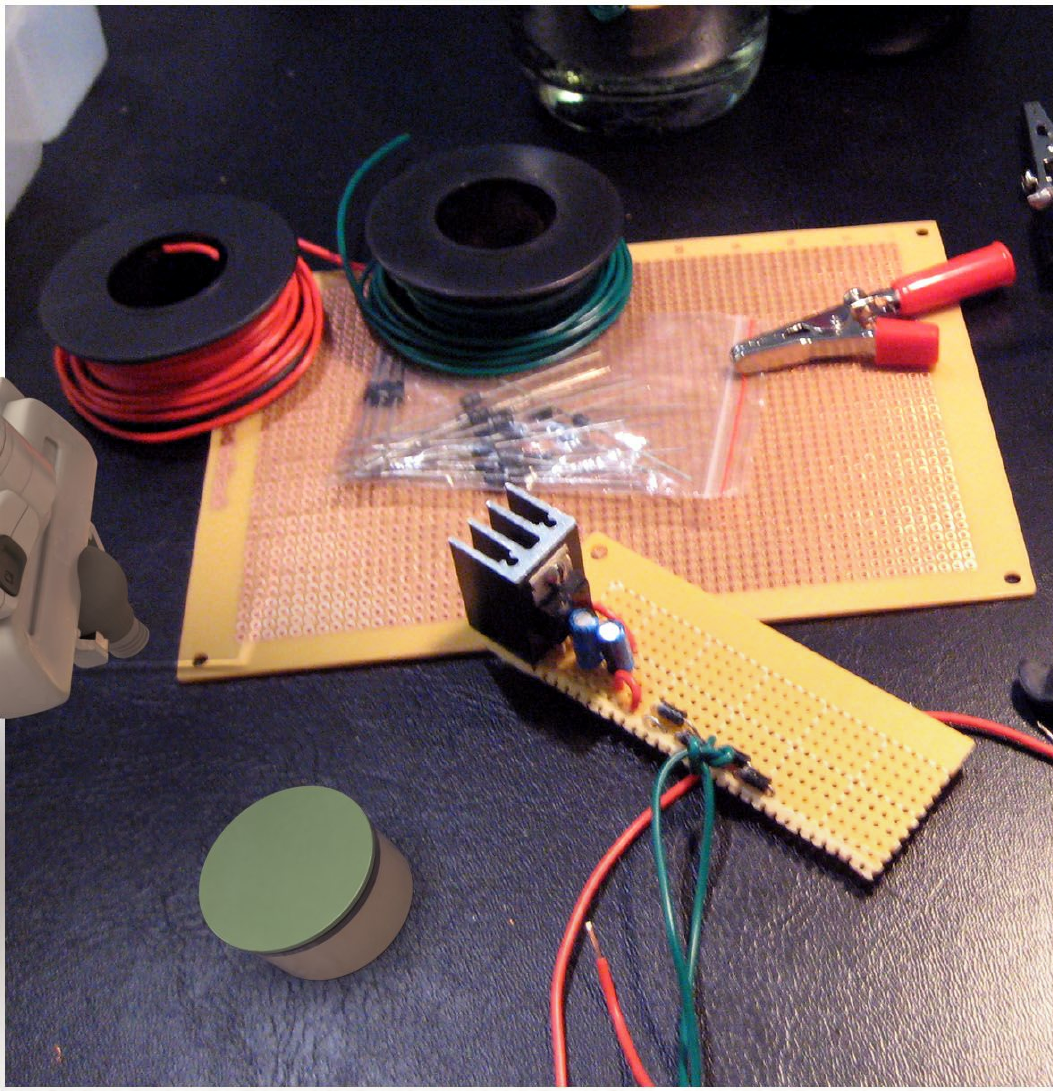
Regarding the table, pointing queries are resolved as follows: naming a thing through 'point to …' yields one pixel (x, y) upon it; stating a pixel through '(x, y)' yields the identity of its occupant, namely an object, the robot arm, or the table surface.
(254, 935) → the pot
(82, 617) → the light bulb
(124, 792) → the table surface
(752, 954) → the table surface
